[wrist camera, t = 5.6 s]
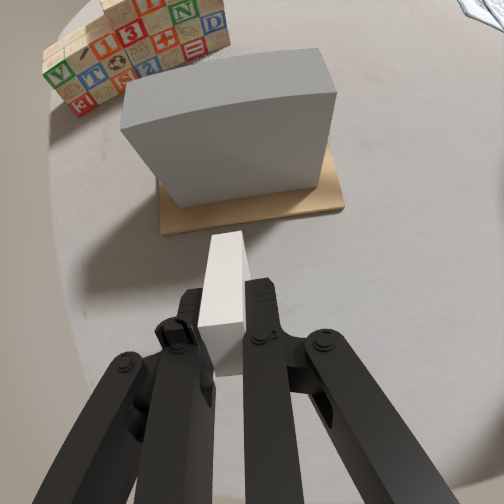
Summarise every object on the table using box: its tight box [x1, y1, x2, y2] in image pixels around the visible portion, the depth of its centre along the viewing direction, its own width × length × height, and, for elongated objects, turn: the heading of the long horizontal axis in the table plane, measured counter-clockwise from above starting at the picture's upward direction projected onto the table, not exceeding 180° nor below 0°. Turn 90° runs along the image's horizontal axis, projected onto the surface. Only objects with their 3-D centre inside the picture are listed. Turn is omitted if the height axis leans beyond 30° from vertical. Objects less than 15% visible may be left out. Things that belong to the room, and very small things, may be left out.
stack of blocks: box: [42, 0, 230, 117], centre depth 28 cm, size 21×6×12 cm, turn 115°
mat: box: [159, 140, 345, 236], centre depth 29 cm, size 18×16×1 cm
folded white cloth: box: [458, 0, 504, 32], centre depth 34 cm, size 19×20×2 cm
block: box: [120, 48, 337, 208], centre depth 22 cm, size 4×12×12 cm, turn 97°
